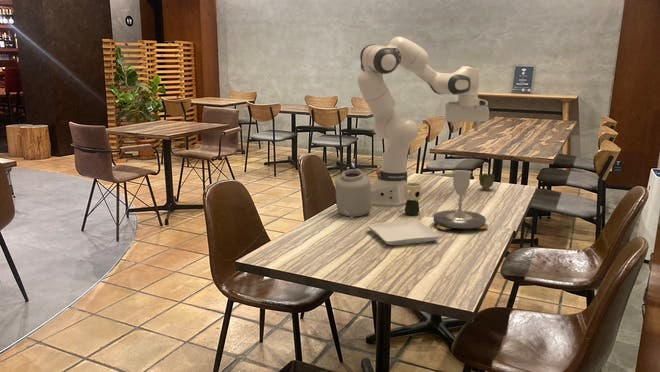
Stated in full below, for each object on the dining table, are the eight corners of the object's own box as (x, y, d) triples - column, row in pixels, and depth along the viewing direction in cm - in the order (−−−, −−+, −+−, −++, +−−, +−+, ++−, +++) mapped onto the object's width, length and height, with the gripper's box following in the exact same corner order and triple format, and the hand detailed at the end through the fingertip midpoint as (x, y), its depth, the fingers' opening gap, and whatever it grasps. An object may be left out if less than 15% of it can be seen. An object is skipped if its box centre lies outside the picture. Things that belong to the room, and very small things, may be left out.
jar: (361, 222, 223) (362, 161, 217) (328, 218, 228) (327, 159, 223) (375, 210, 240) (376, 154, 234) (343, 207, 245) (344, 151, 240)
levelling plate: (440, 234, 208) (441, 224, 208) (427, 218, 229) (427, 209, 228) (492, 233, 210) (493, 223, 209) (474, 217, 230) (475, 208, 229)
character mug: (414, 218, 229) (415, 187, 226) (398, 215, 233) (399, 185, 230) (424, 212, 238) (425, 182, 235) (409, 209, 242) (410, 180, 239)
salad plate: (386, 249, 193) (386, 240, 192) (365, 231, 213) (366, 223, 212) (441, 244, 199) (441, 235, 198) (416, 227, 218) (416, 218, 218)
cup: (495, 192, 273) (496, 176, 272) (480, 191, 274) (481, 176, 272) (491, 188, 281) (492, 173, 279) (476, 188, 281) (477, 172, 279)
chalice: (467, 214, 221) (470, 170, 217) (470, 219, 214) (472, 173, 210) (449, 213, 222) (451, 169, 218) (450, 218, 215) (453, 173, 211)
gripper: (447, 102, 252) (446, 132, 256) (491, 101, 254) (489, 131, 257) (443, 101, 259) (442, 130, 262) (486, 100, 260) (484, 130, 263)
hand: (466, 131), depth 259 cm, fingers open, 8 cm apart
